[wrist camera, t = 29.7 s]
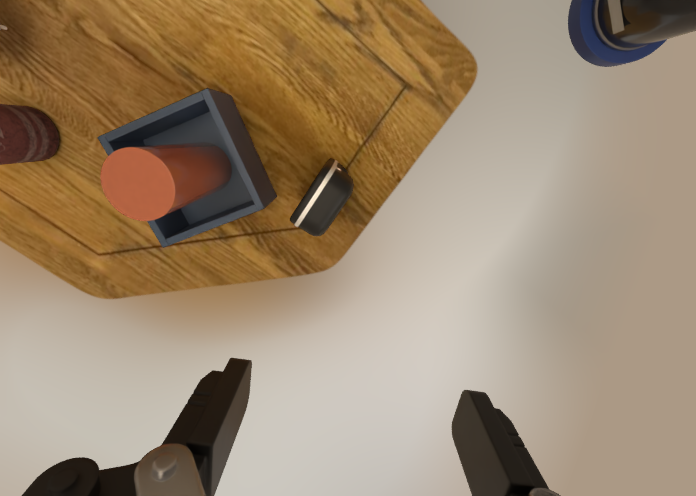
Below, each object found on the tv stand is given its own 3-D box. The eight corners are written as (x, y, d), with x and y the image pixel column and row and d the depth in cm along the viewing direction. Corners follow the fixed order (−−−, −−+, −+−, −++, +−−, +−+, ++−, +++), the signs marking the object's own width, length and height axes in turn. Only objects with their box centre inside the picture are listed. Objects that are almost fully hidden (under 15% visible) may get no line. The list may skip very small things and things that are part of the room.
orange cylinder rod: (181, 137, 39) (97, 141, 26) (233, 146, 40) (174, 153, 26) (181, 188, 41) (103, 215, 28) (230, 196, 42) (175, 226, 28)
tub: (231, 95, 39) (207, 87, 32) (277, 196, 42) (264, 208, 36) (137, 136, 40) (96, 137, 34) (190, 230, 44) (162, 247, 38)
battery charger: (326, 218, 43) (318, 247, 33) (301, 202, 43) (284, 225, 32) (357, 173, 41) (359, 187, 31) (331, 155, 41) (325, 163, 30)
